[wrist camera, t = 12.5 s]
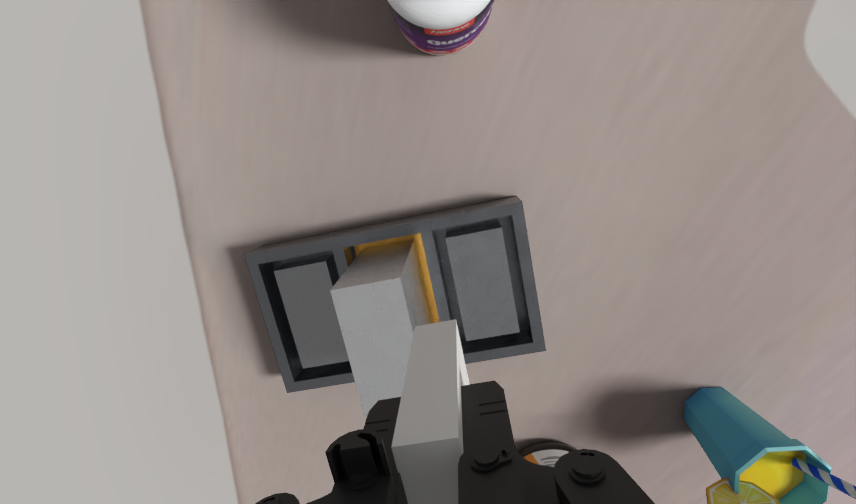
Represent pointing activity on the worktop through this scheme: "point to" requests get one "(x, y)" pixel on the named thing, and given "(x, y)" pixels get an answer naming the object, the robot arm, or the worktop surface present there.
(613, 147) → the worktop surface
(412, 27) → the pill bottle
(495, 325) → the rack
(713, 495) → the cup
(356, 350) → the grey rectangular block
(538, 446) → the supplement container
